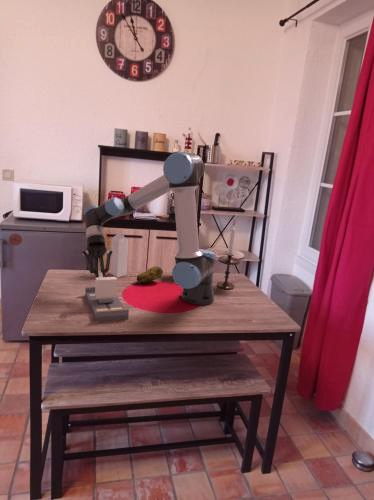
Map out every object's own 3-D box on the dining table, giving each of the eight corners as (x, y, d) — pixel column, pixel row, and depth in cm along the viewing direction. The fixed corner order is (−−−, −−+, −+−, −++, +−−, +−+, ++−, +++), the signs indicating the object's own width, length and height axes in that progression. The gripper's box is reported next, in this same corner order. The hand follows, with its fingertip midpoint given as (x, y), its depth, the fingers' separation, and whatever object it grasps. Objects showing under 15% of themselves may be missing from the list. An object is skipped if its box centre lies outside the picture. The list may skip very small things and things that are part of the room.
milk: (116, 277, 186) (119, 234, 180) (109, 273, 190) (111, 232, 184) (126, 275, 190) (129, 233, 185) (119, 271, 194) (121, 231, 188)
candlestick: (234, 292, 183) (244, 222, 174) (212, 287, 185) (221, 219, 176) (237, 285, 193) (247, 219, 184) (217, 281, 196) (225, 216, 187)
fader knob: (94, 298, 152) (95, 276, 149) (113, 297, 155) (114, 275, 153) (96, 303, 147) (97, 281, 145) (116, 301, 151) (117, 280, 148)
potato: (135, 278, 187) (137, 263, 185) (161, 279, 189) (162, 265, 187) (136, 284, 179) (137, 269, 177) (162, 285, 181) (164, 270, 179)
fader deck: (85, 295, 160) (85, 286, 159) (112, 293, 165) (113, 285, 164) (96, 322, 138) (97, 312, 136) (128, 319, 143) (128, 309, 142)
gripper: (109, 242, 168) (115, 290, 158) (79, 242, 163) (84, 292, 152) (112, 233, 162) (119, 283, 152) (81, 233, 156) (86, 284, 146)
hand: (101, 287), depth 152 cm, fingers closed
